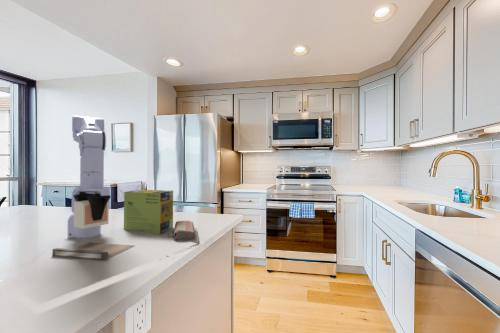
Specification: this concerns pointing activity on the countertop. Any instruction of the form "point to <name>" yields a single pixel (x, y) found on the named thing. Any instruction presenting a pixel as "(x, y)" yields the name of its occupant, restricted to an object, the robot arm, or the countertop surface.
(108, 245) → the shelf
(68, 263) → the countertop surface
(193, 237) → the packaged product
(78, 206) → the carton
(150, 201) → the protein box
